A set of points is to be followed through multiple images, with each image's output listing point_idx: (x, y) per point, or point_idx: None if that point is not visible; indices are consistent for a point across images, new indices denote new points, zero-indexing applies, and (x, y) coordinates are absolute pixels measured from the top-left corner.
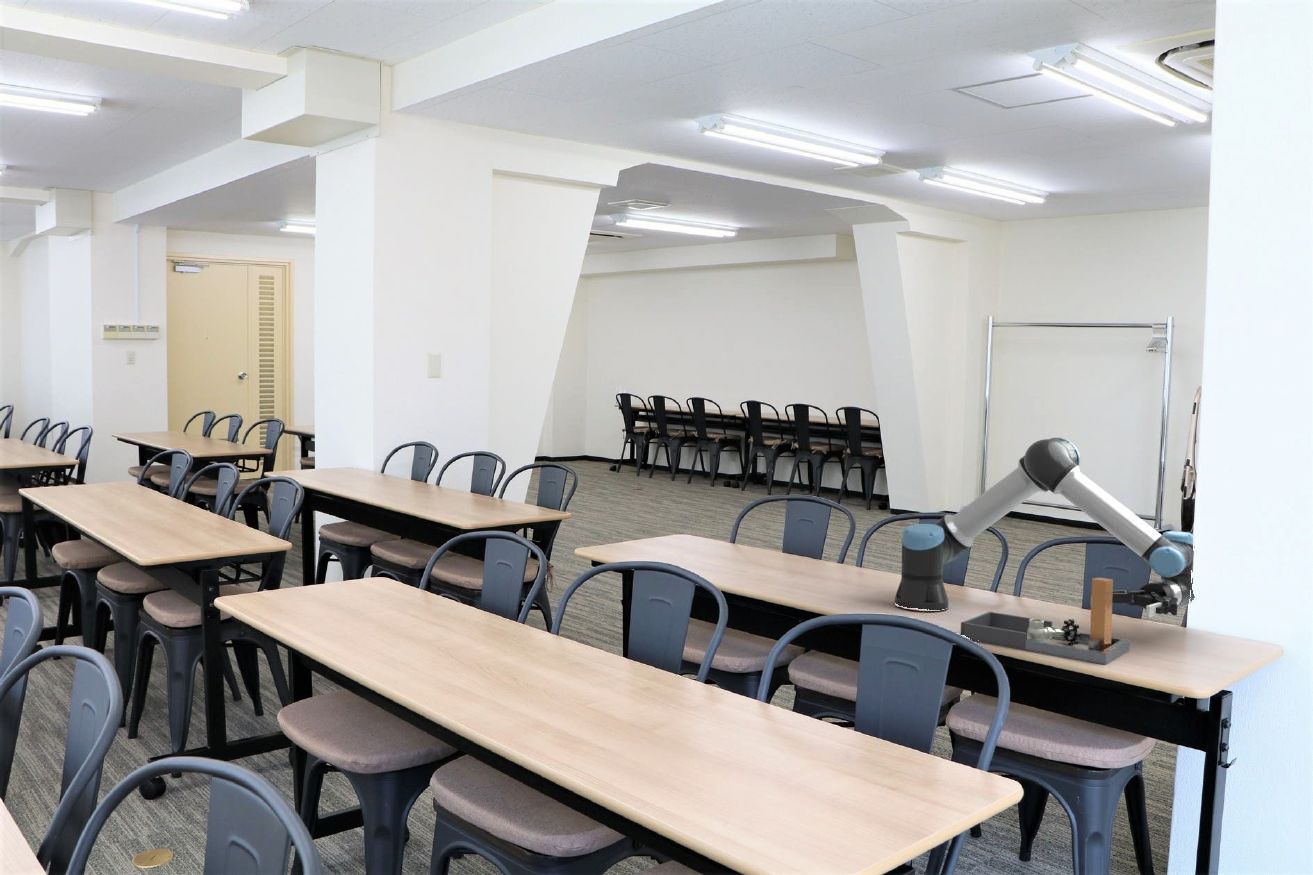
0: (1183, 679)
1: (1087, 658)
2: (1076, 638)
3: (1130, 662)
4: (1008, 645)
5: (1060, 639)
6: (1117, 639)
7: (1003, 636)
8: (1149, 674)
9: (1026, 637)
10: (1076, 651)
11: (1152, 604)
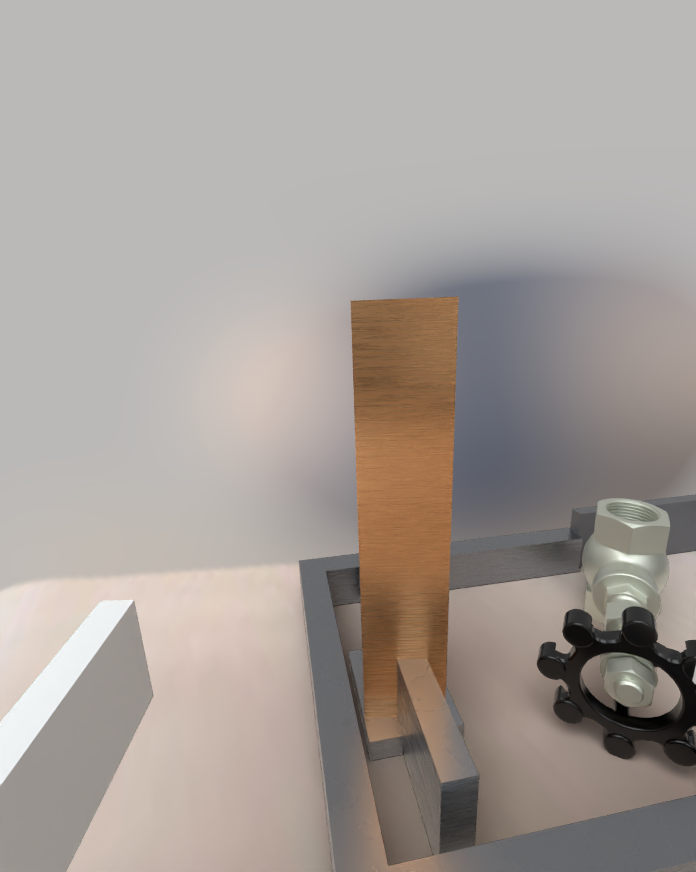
0: (29, 625)
1: None
2: (568, 689)
3: (238, 678)
4: None
5: None
6: (417, 860)
7: None
8: (149, 600)
9: (573, 524)
10: None
11: (47, 706)
